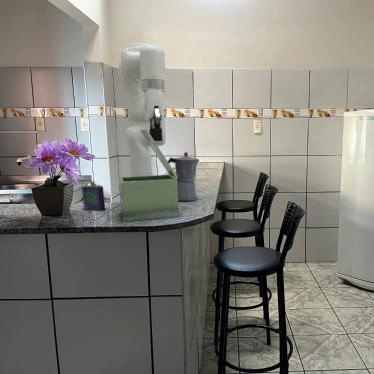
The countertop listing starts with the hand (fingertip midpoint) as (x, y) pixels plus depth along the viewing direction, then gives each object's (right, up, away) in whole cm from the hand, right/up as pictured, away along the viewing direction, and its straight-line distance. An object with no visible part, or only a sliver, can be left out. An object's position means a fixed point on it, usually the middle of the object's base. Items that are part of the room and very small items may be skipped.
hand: (156, 140), depth 124 cm
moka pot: (+5, -22, +29) cm, 36 cm away
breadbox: (-3, -26, +3) cm, 26 cm away
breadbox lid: (0, -4, +1) cm, 5 cm away
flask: (-26, -25, +13) cm, 38 cm away
